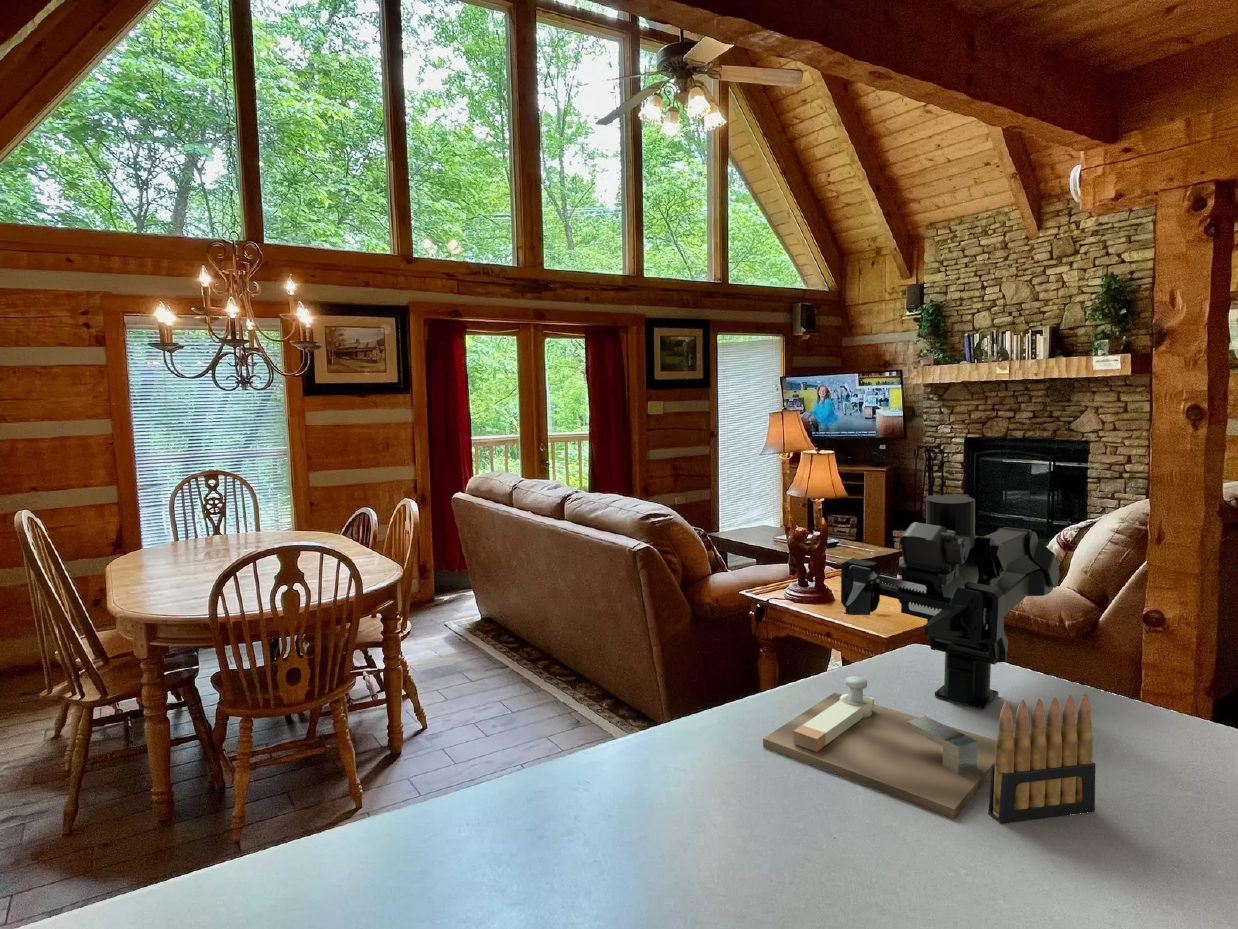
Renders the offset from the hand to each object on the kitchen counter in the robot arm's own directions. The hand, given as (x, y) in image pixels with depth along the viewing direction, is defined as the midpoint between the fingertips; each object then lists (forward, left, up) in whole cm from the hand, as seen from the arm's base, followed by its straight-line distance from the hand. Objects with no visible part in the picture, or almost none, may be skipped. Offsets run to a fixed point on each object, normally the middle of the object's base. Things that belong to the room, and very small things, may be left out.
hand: (884, 620), depth 81 cm
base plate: (-3, -1, -17) cm, 17 cm away
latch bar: (-3, -7, -16) cm, 17 cm away
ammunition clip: (-1, +16, -17) cm, 23 cm away
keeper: (-4, +5, -16) cm, 17 cm away
